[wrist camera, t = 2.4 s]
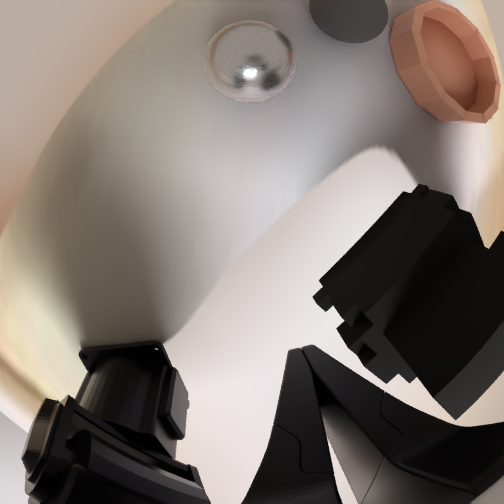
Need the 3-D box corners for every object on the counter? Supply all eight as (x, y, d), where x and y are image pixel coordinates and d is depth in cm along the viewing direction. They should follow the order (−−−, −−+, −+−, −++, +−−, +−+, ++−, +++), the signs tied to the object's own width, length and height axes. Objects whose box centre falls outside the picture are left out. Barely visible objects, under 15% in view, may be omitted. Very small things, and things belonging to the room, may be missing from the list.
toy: (484, 205, 16) (584, 247, 7) (365, 341, 19) (435, 447, 9) (444, 124, 14) (572, 133, 4) (299, 281, 16) (375, 418, 7)
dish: (405, 119, 14) (431, 117, 11) (376, 2, 11) (395, -13, 8) (483, 125, 14) (507, 127, 11) (460, 26, 11) (481, 20, 9)
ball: (309, 51, 12) (336, 23, 8) (293, -5, 11) (314, -42, 7) (373, 54, 12) (412, 34, 8) (357, 0, 11) (388, -28, 7)
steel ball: (212, 115, 13) (209, 100, 9) (200, 46, 11) (194, 12, 8) (292, 104, 13) (316, 88, 9) (277, 36, 12) (296, 3, 8)
